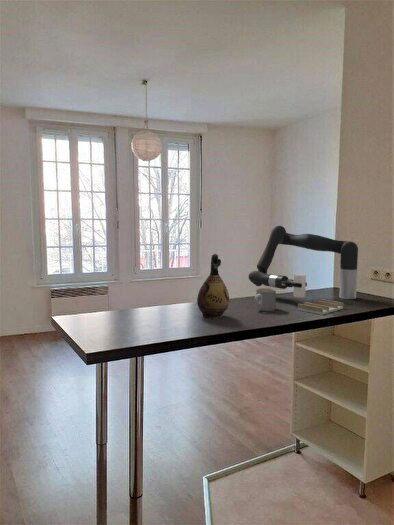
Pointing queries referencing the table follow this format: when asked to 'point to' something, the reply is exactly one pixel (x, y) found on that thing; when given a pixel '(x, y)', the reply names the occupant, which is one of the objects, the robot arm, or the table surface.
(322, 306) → the drying rack
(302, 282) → the clay bar
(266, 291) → the coffee mug
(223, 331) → the table surface
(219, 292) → the ceramic jug
